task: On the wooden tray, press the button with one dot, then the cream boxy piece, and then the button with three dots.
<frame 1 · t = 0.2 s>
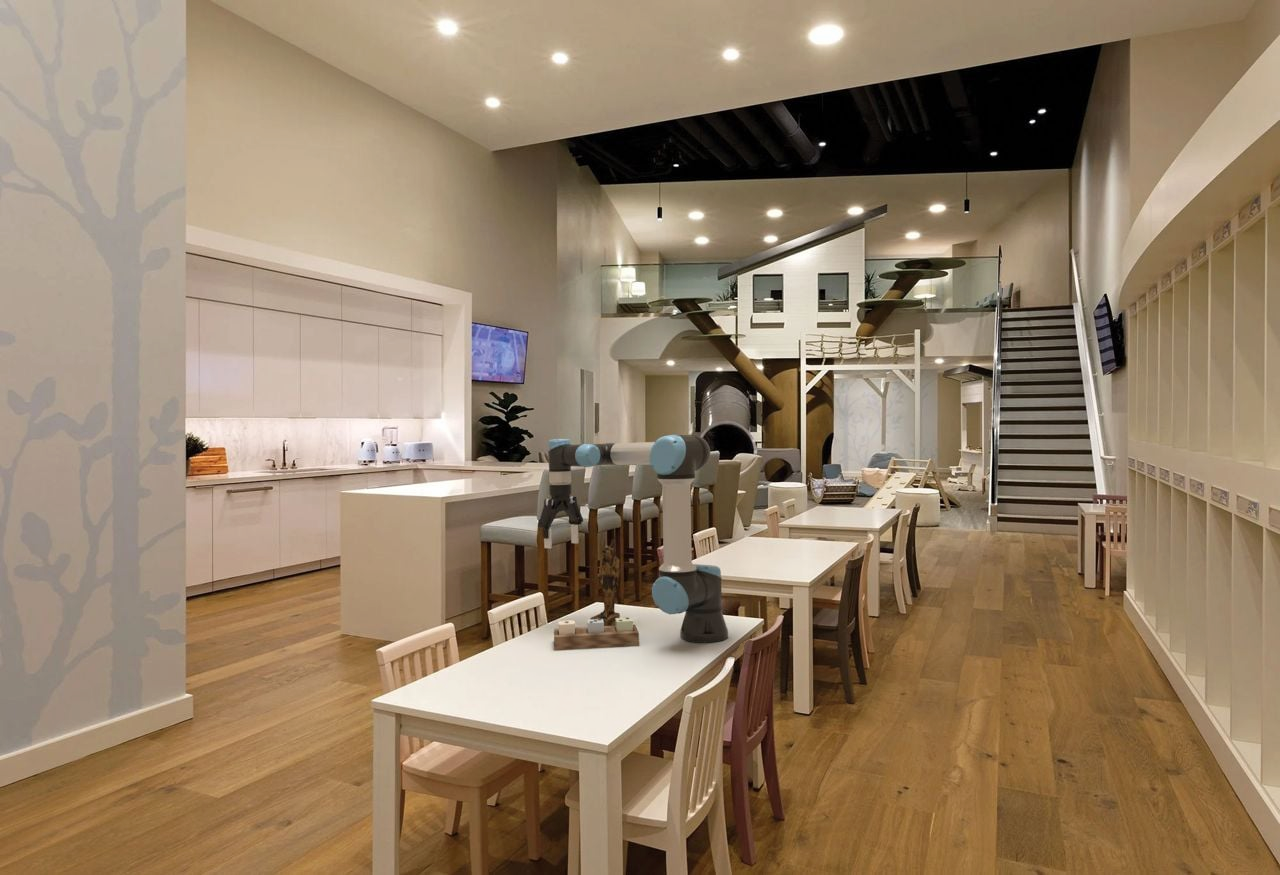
hand: (561, 545, 276), 28 cm above the table, fingers open, 13 cm apart
wooden tray: (596, 643, 252), on the table
button 3: (595, 627, 252), point 5 cm above the table, slide at 0.0 cm
statue: (607, 628, 272), on the table
cream boxy piece 2: (624, 625, 253), point 5 cm above the table, slide at 0.0 cm
button 1: (566, 628, 251), point 5 cm above the table, slide at 0.0 cm
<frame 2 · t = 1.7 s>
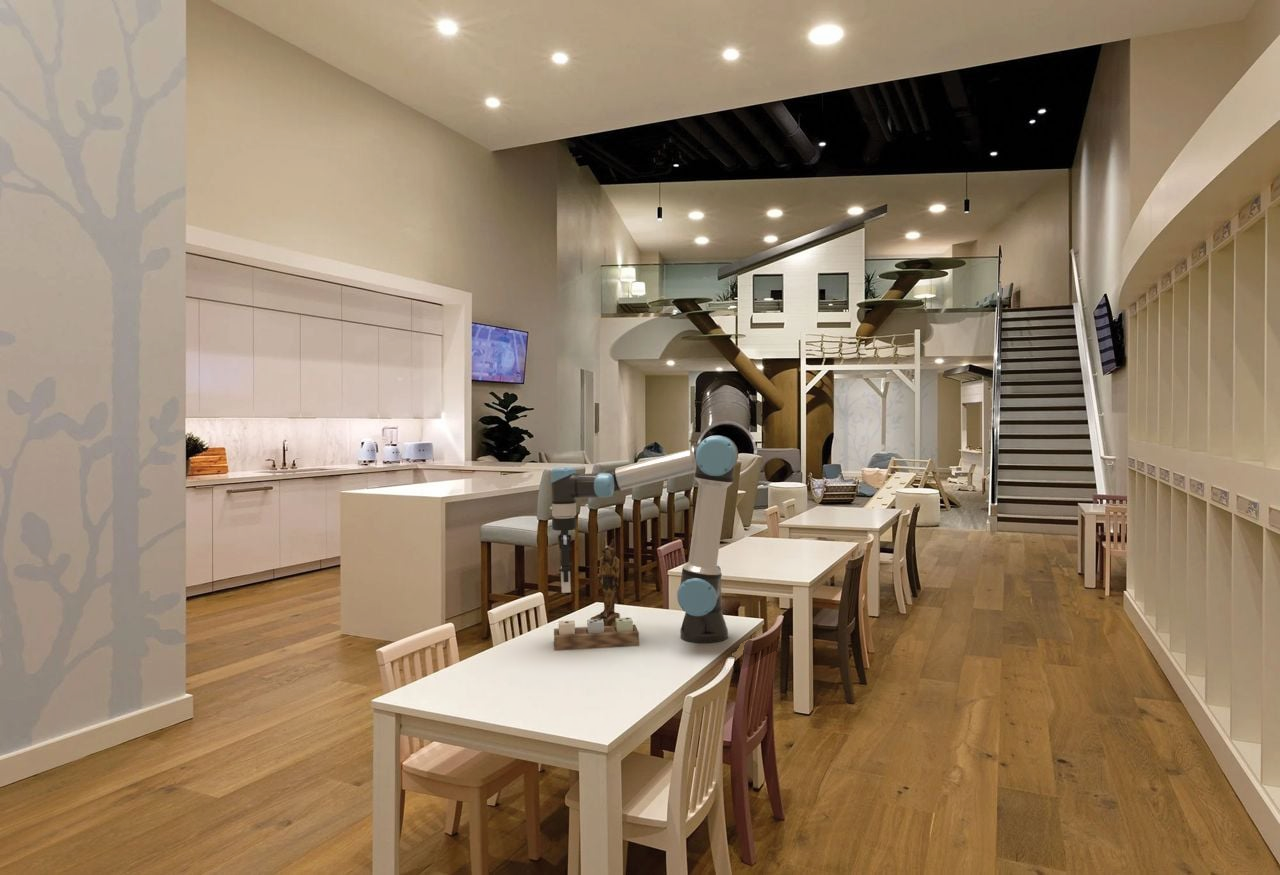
hand: (565, 589, 251), 17 cm above the table, fingers open, 8 cm apart
nothing on the table moved.
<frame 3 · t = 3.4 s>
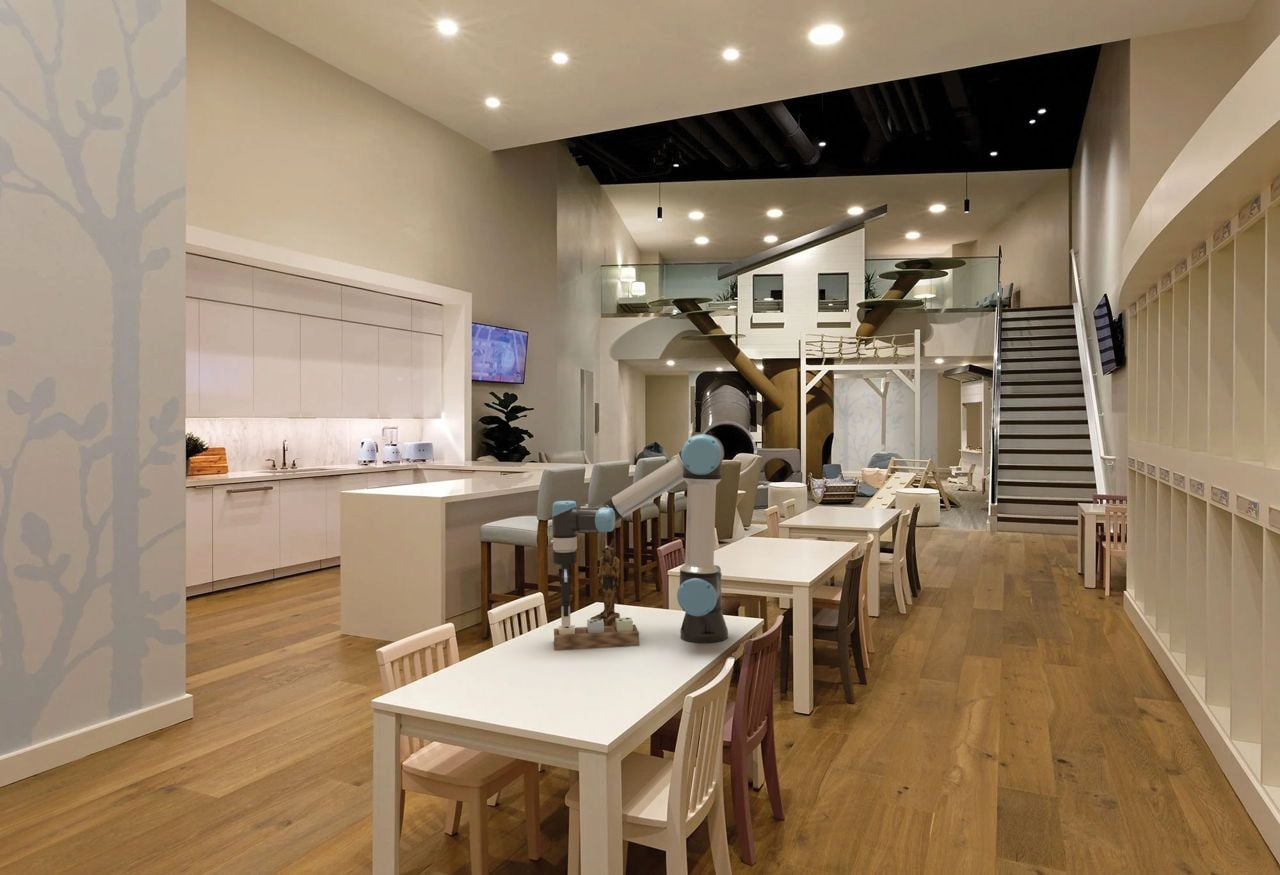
hand: (566, 625, 251), 6 cm above the table, fingers closed
button 1: (566, 633, 251), point 4 cm above the table, slide at 1.5 cm, touching gripper
everything else where it was.
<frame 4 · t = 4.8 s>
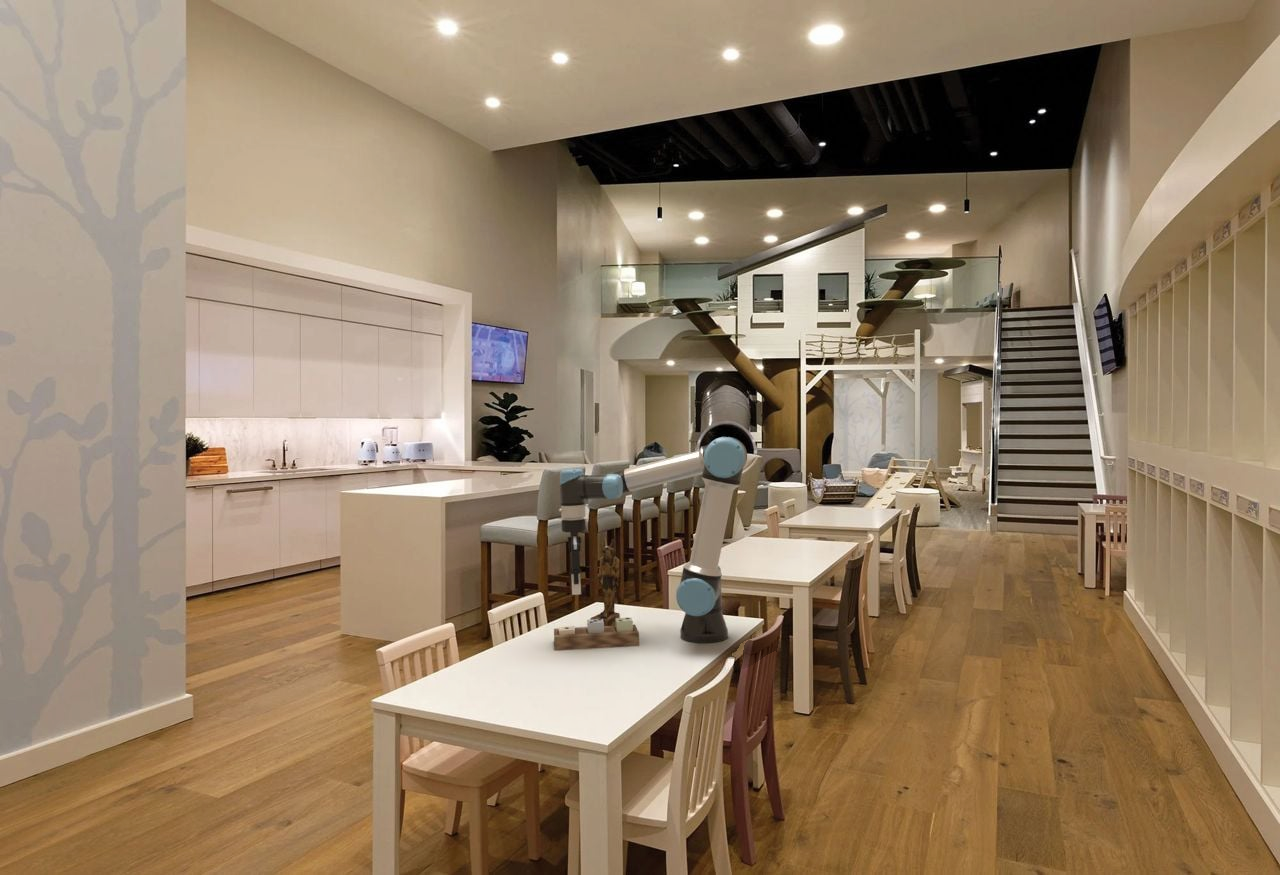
hand: (576, 594, 251), 16 cm above the table, fingers closed
button 1: (566, 634, 251), point 3 cm above the table, slide at 1.8 cm
everything else where it was.
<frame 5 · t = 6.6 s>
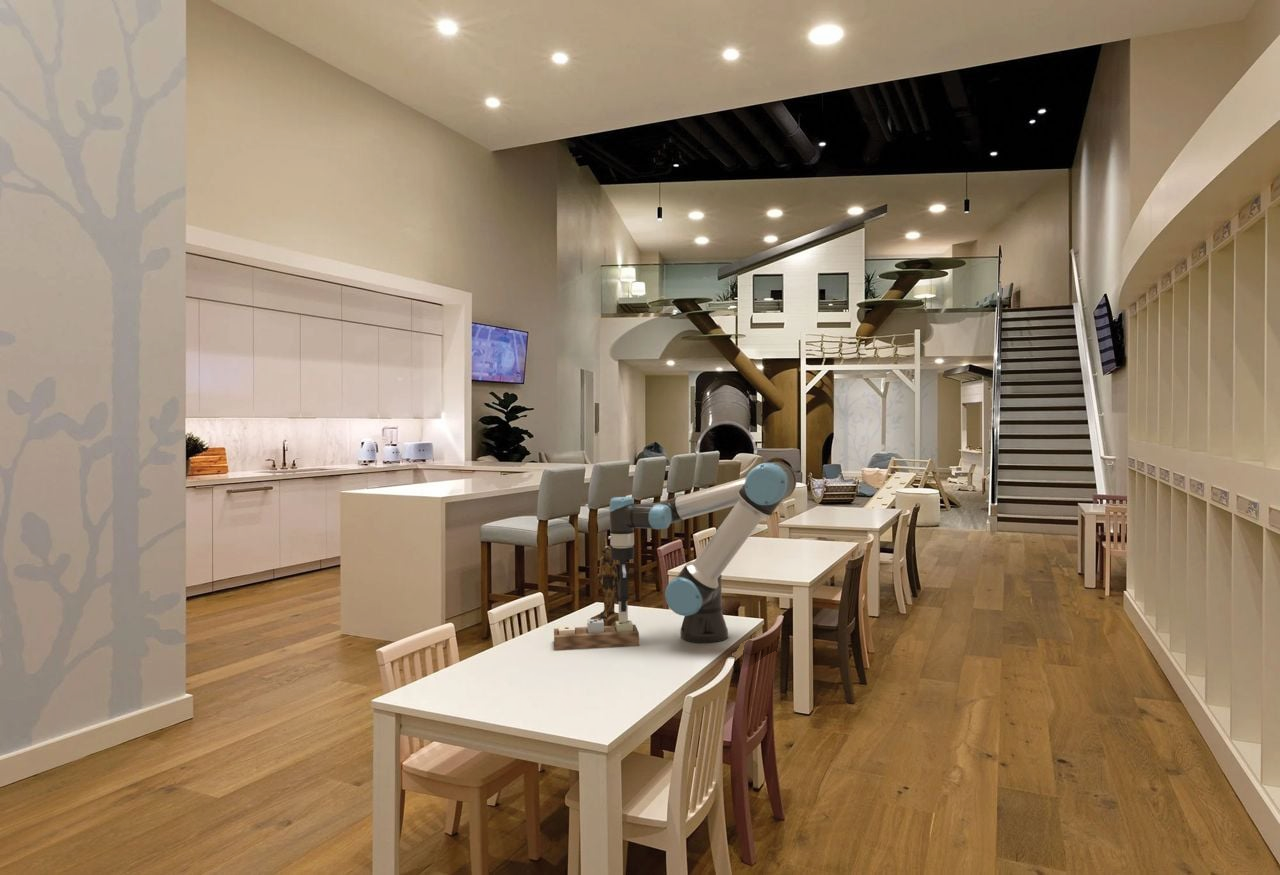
hand: (623, 621, 253), 7 cm above the table, fingers closed
cream boxy piece 2: (624, 628, 253), point 4 cm above the table, slide at 1.0 cm, touching gripper
everything else where it was.
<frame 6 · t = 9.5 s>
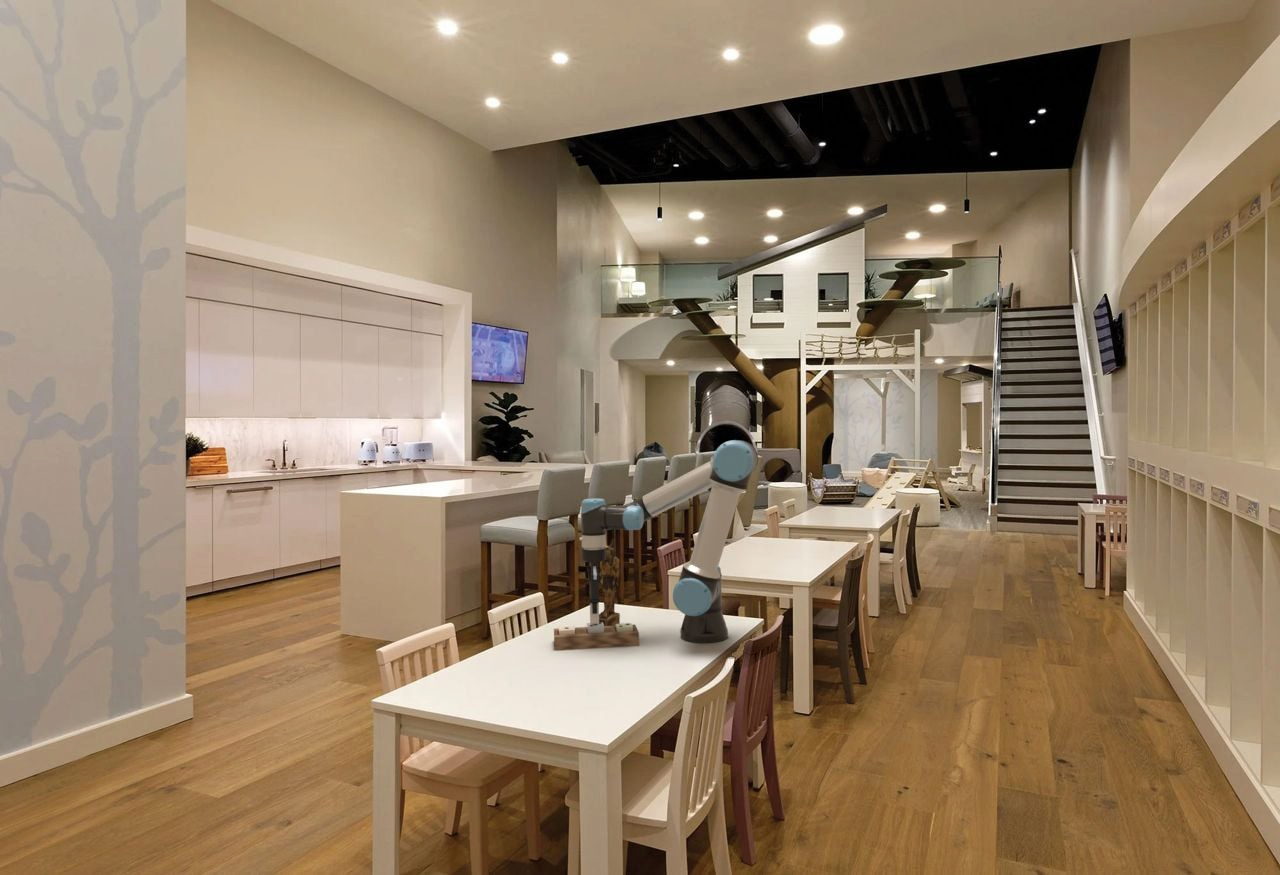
hand: (594, 623, 252), 6 cm above the table, fingers closed
button 3: (595, 630, 252), point 4 cm above the table, slide at 1.1 cm, touching gripper
cream boxy piece 2: (624, 631, 253), point 3 cm above the table, slide at 1.8 cm
everything else where it was.
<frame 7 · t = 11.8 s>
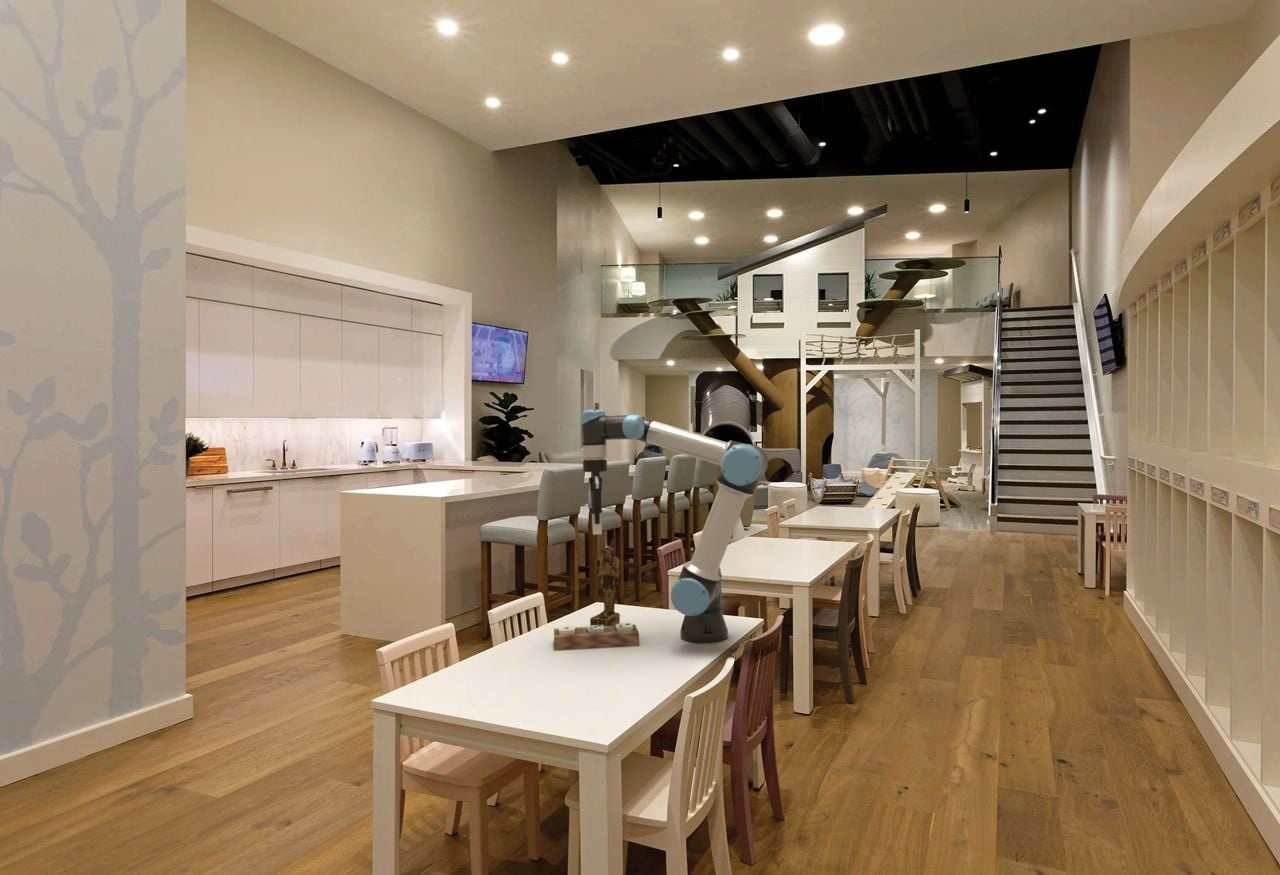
hand: (597, 534, 253), 34 cm above the table, fingers closed
button 3: (595, 633, 252), point 3 cm above the table, slide at 1.9 cm
everything else where it was.
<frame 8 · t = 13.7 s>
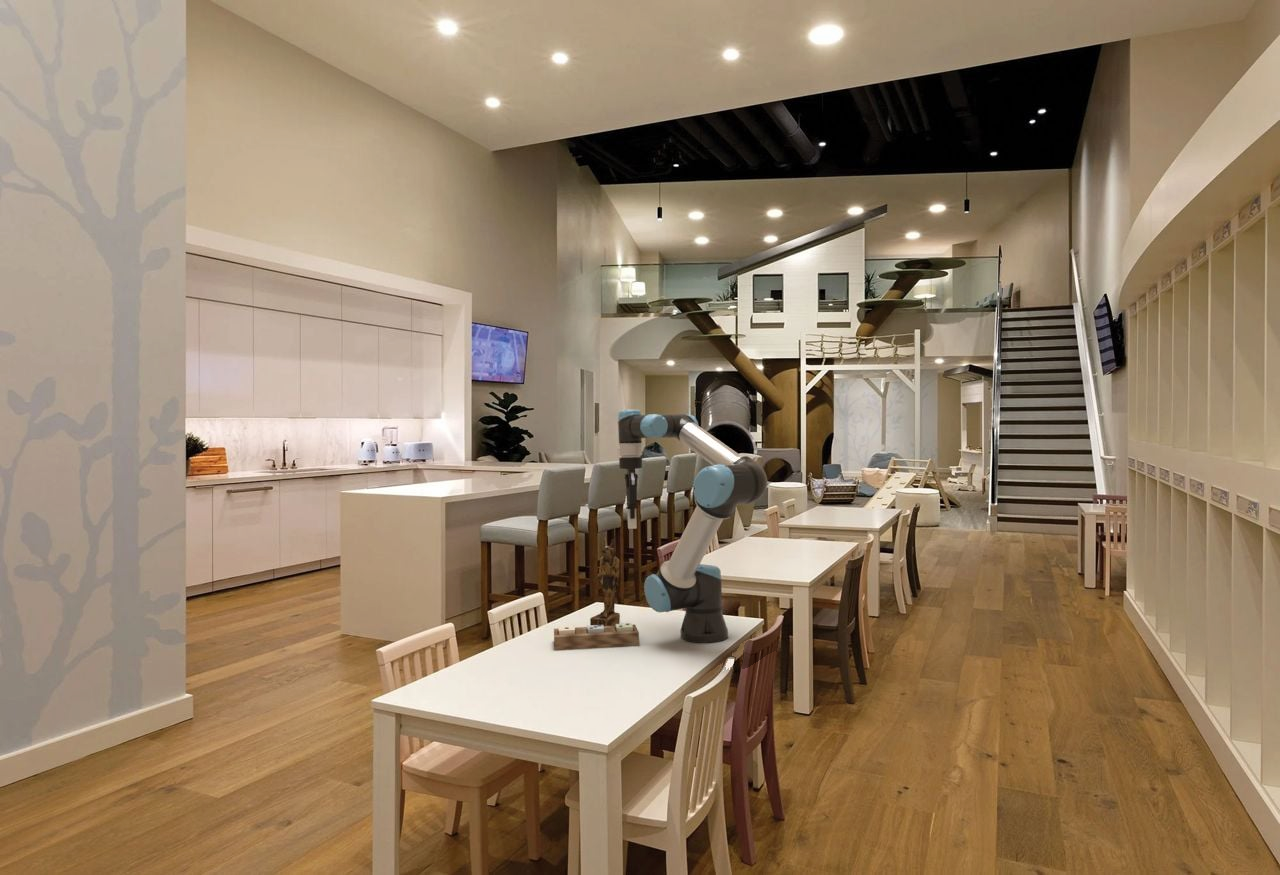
hand: (632, 528, 264), 34 cm above the table, fingers closed
nothing on the table moved.
at the end: button 1 slide at 1.8 cm; cream boxy piece 2 slide at 1.8 cm; button 3 slide at 1.9 cm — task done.
